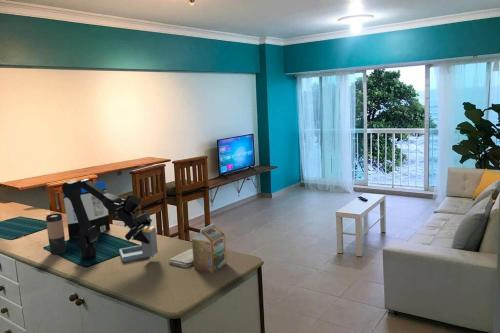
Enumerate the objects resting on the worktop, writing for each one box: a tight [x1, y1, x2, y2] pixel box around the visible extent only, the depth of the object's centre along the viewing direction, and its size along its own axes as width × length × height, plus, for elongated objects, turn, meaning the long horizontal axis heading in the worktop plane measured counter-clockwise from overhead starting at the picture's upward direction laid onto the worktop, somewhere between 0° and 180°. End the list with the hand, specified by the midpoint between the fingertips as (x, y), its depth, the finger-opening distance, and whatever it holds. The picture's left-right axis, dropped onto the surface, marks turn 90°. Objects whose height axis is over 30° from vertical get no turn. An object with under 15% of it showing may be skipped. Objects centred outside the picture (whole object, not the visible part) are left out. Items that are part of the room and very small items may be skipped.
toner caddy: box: [140, 225, 158, 258], centre depth 196 cm, size 5×6×14 cm
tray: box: [118, 244, 149, 263], centre depth 206 cm, size 13×13×3 cm
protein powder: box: [62, 180, 111, 241], centre depth 241 cm, size 10×24×30 cm, turn 132°
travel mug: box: [45, 213, 67, 256], centre depth 214 cm, size 8×8×20 cm
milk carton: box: [191, 223, 228, 274], centre depth 186 cm, size 11×11×19 cm
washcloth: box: [168, 248, 194, 269], centre depth 197 cm, size 12×18×3 cm, turn 149°
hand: (151, 241), depth 196 cm, fingers closed on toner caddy, 6 cm apart
